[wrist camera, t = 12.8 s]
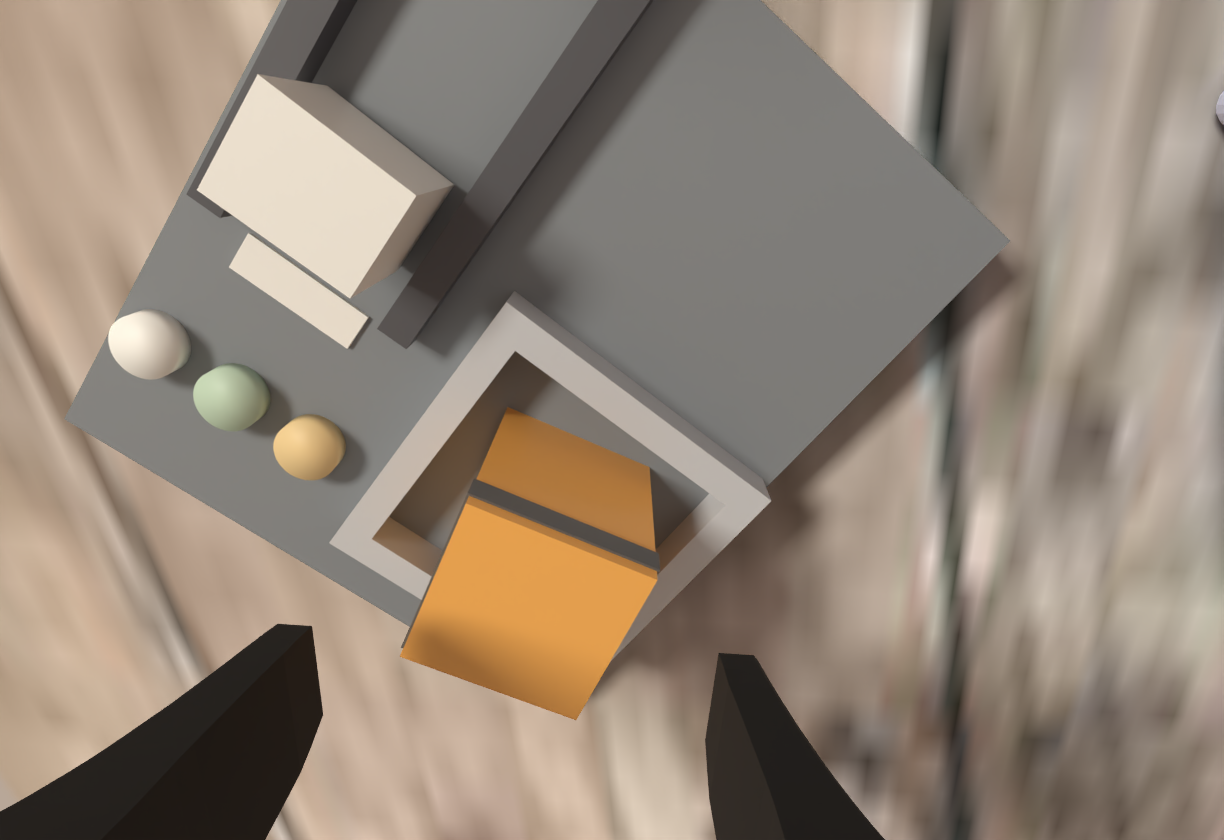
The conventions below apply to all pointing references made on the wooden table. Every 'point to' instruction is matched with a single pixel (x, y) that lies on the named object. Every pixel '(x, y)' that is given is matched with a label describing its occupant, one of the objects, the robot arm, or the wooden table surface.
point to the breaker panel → (540, 281)
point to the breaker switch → (323, 183)
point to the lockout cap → (540, 568)
